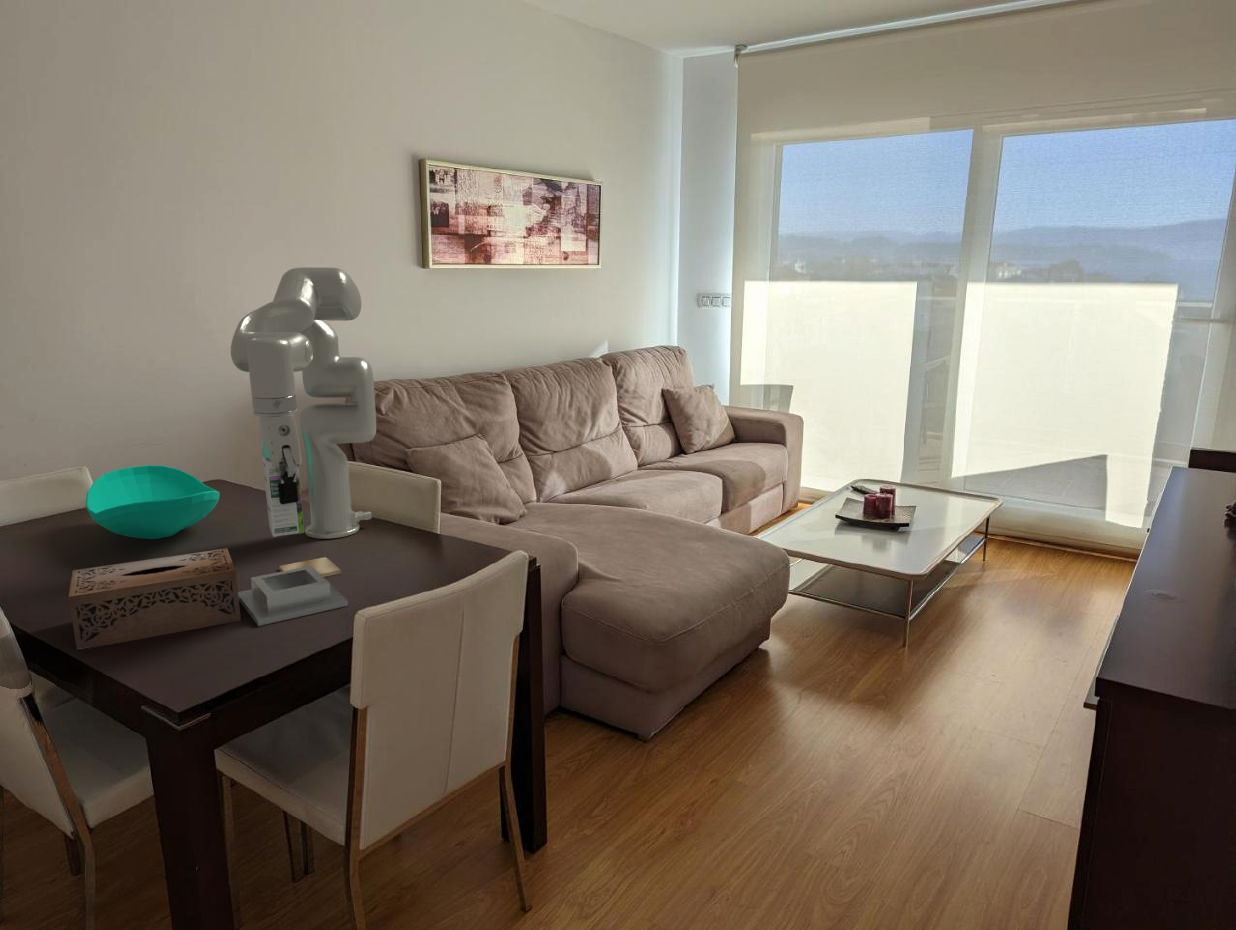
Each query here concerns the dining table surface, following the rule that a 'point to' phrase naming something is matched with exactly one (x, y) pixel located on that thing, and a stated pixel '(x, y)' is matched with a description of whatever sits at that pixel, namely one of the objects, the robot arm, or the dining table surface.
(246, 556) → the dining table surface
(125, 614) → the tissue box cover
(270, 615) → the gray stepped square frame
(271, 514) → the syrup box
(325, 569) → the cork mat
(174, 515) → the table top decor
